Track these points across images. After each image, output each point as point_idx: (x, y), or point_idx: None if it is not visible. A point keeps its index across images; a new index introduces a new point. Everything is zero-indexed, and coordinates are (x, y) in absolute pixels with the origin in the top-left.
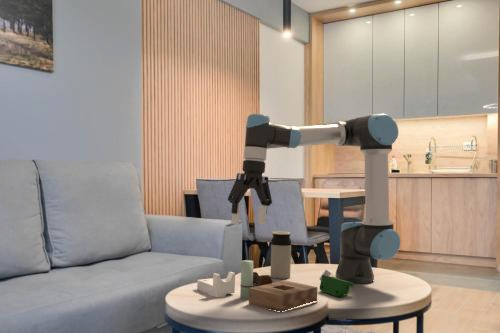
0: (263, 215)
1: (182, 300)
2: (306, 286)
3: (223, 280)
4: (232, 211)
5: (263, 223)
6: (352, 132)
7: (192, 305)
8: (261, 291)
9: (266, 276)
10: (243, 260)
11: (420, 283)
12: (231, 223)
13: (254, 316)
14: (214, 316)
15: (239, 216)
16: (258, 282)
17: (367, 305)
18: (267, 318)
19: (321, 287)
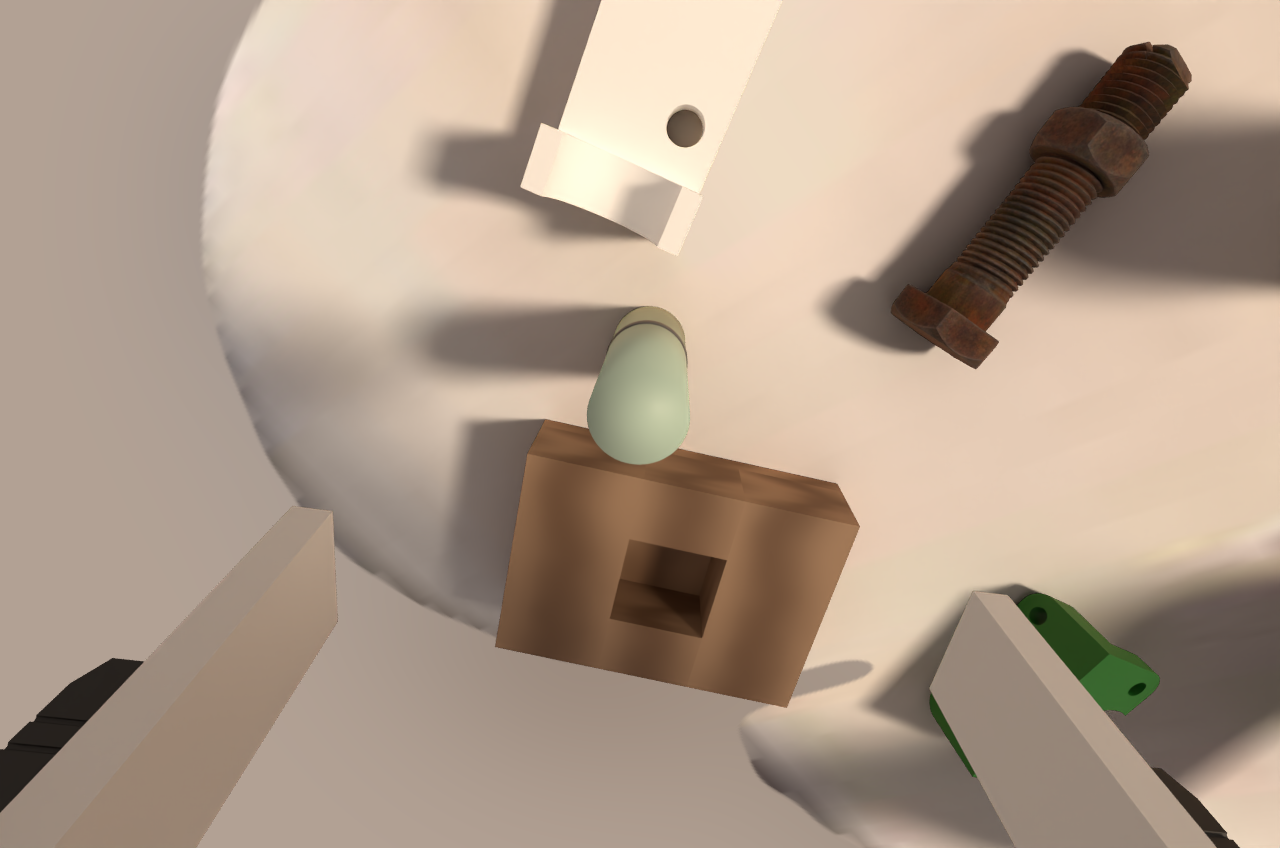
0: (1015, 805)
1: (341, 51)
2: (769, 664)
3: (629, 174)
4: (72, 710)
5: (939, 696)
6: None
7: (310, 186)
8: (514, 534)
9: (953, 351)
10: (652, 371)
11: None
12: (292, 511)
13: (393, 534)
14: (260, 401)
15: (269, 721)
16: (900, 300)
17: (856, 802)
18: (409, 585)
19: (1042, 607)
